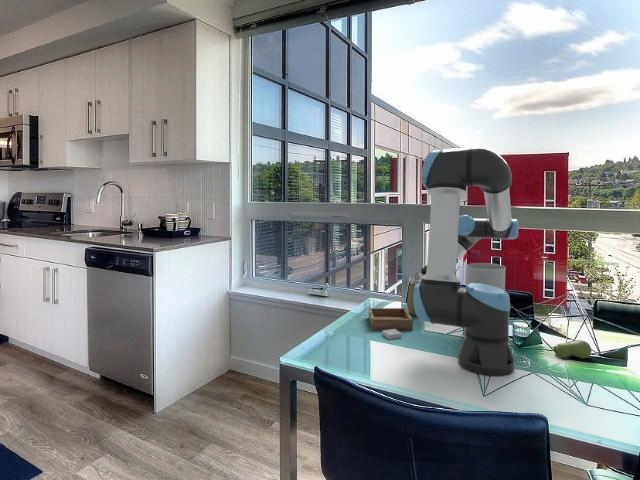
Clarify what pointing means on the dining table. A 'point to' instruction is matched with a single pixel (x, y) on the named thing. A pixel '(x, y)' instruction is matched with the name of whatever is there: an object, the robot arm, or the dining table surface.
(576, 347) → the pear
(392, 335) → the grey flat block
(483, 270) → the cylinder vase
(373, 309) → the tray
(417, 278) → the squeeze bottle
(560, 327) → the dining table surface
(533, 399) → the dining table surface
